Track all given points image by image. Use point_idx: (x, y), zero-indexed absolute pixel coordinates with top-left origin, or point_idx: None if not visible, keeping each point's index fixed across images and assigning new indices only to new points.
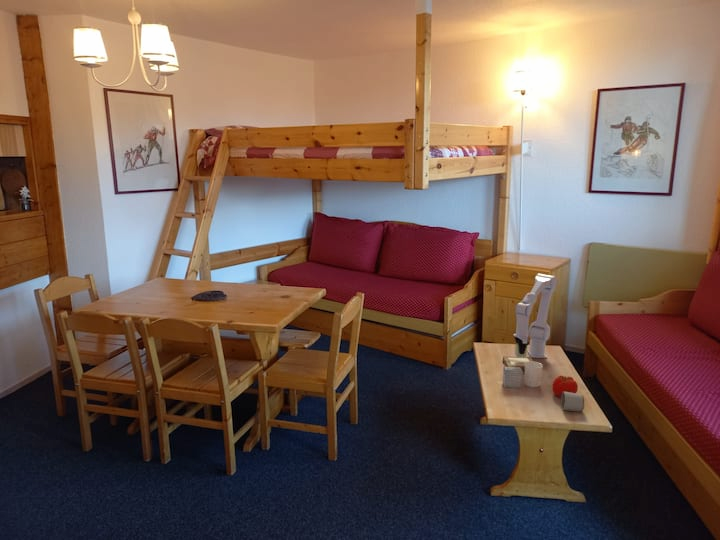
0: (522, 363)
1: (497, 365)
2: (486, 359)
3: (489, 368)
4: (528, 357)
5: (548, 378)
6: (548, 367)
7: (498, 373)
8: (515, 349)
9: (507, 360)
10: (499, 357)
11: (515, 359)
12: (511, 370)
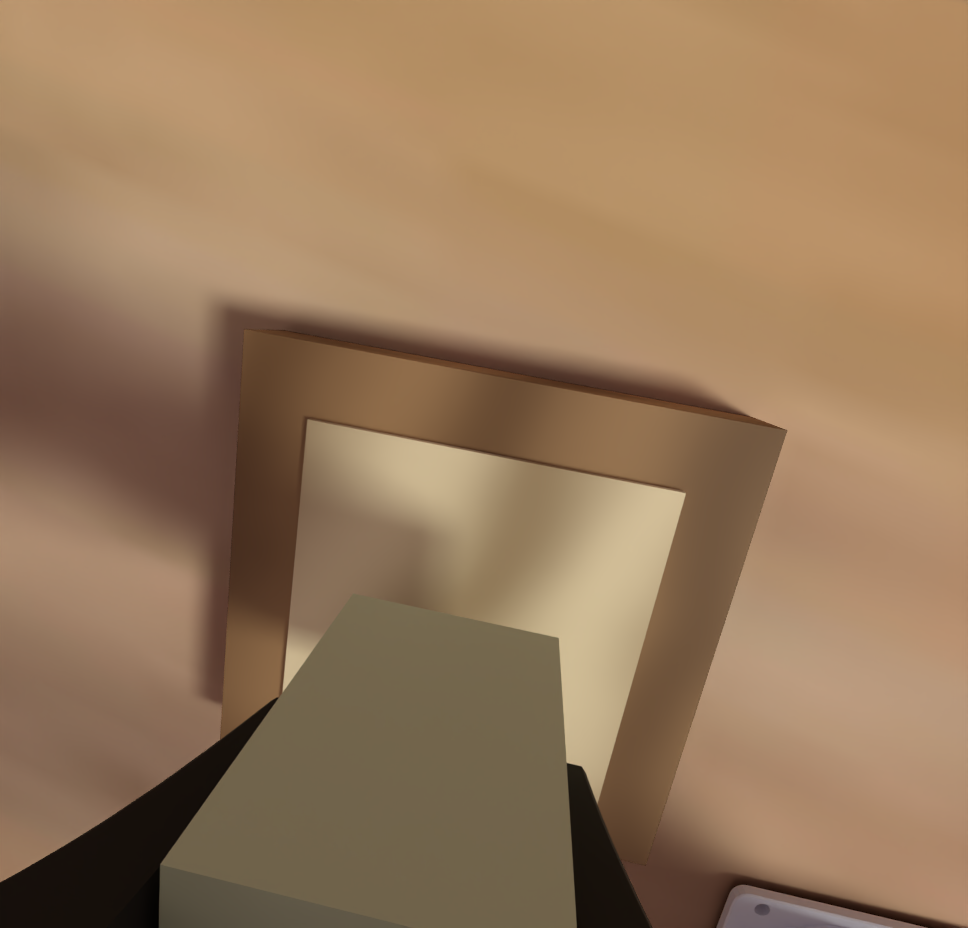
0: None
1: (549, 228)
2: (887, 97)
3: (434, 5)
4: (631, 833)
5: (77, 750)
6: None
7: (213, 115)
8: (537, 723)
9: (563, 436)
10: (904, 412)
11: (571, 597)
12: None
